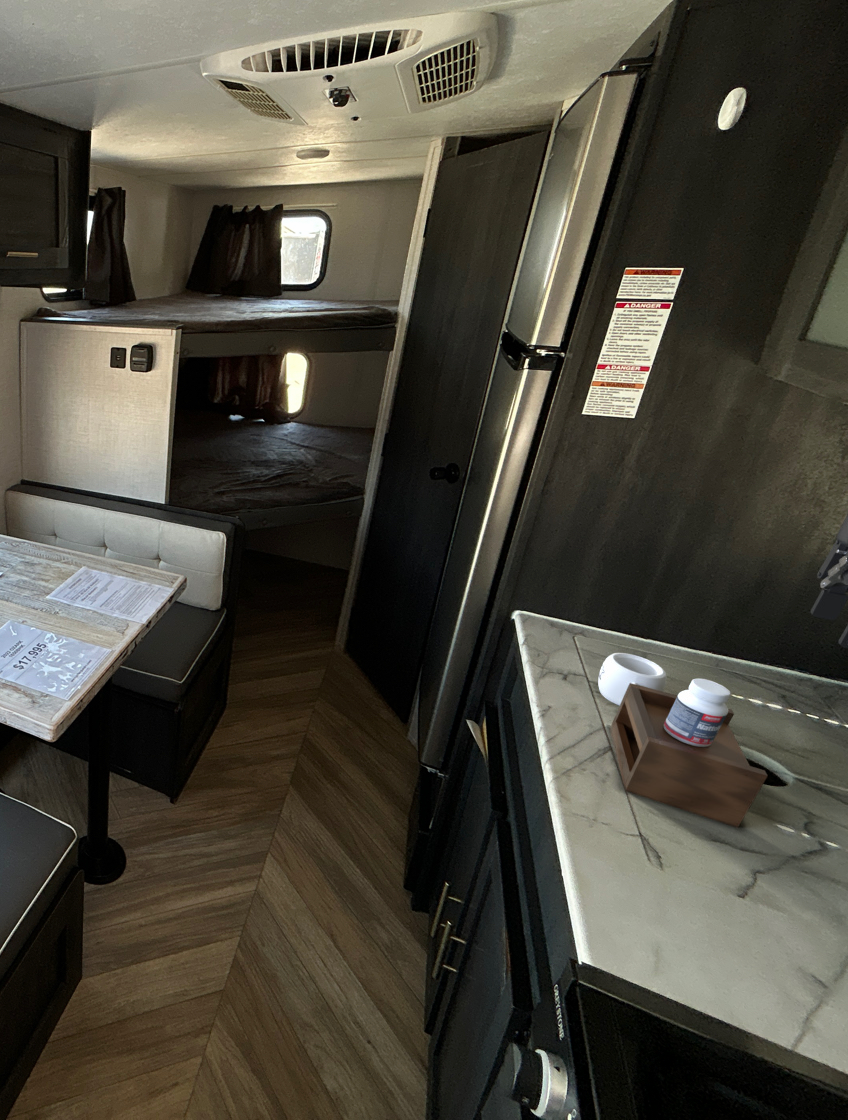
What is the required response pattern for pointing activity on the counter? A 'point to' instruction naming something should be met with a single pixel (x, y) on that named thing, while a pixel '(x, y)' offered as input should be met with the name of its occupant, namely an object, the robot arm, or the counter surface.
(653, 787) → the box
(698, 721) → the pill bottle
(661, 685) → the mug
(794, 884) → the counter surface
